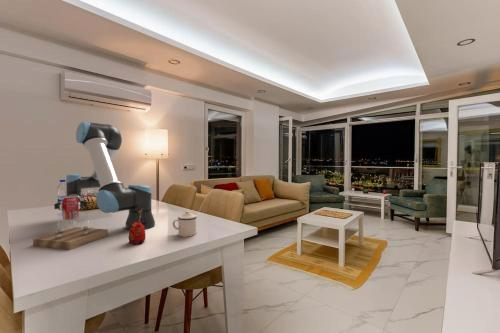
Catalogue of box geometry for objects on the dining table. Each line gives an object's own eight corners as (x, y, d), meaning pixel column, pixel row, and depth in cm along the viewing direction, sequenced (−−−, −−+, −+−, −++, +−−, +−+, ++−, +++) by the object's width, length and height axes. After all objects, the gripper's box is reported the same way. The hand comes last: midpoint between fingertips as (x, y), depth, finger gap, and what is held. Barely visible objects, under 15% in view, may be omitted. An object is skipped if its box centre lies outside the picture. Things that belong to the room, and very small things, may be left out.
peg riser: (107, 235, 125) (107, 226, 125) (70, 249, 105) (70, 238, 105) (74, 232, 129) (74, 223, 129) (33, 245, 110) (32, 235, 110)
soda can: (67, 218, 138) (67, 195, 137) (81, 217, 138) (81, 195, 138) (59, 221, 131) (58, 197, 130) (73, 220, 131) (73, 197, 131)
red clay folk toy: (125, 242, 114) (125, 209, 114) (139, 238, 120) (139, 207, 119) (134, 246, 110) (134, 211, 109) (149, 241, 116) (149, 209, 115)
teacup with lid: (198, 231, 131) (198, 209, 131) (193, 237, 122) (193, 213, 122) (176, 231, 132) (176, 209, 132) (169, 236, 123) (169, 212, 123)
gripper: (92, 206, 155) (92, 212, 135) (51, 209, 144) (45, 217, 125) (92, 193, 155) (92, 198, 135) (51, 196, 144) (44, 201, 125)
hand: (69, 207), depth 130 cm, fingers closed on soda can, 7 cm apart
